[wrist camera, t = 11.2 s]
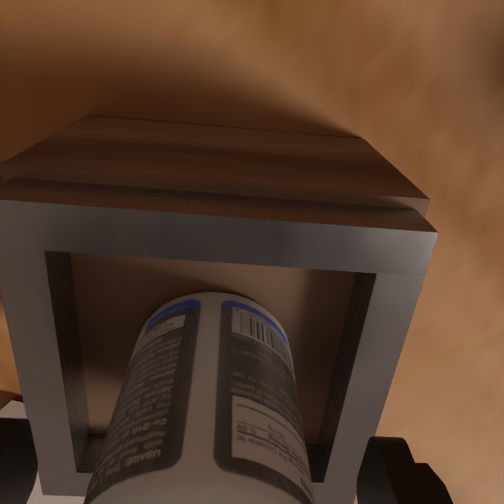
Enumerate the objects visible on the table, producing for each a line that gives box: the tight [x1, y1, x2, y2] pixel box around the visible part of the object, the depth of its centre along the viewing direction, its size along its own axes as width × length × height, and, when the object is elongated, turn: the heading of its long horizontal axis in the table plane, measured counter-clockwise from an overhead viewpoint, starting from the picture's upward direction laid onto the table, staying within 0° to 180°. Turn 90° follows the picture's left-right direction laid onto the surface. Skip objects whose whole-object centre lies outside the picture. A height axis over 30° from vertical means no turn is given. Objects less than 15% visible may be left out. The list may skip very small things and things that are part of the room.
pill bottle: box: [83, 292, 315, 504], centre depth 10 cm, size 5×5×8 cm
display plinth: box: [0, 115, 438, 504], centre depth 16 cm, size 11×11×8 cm
